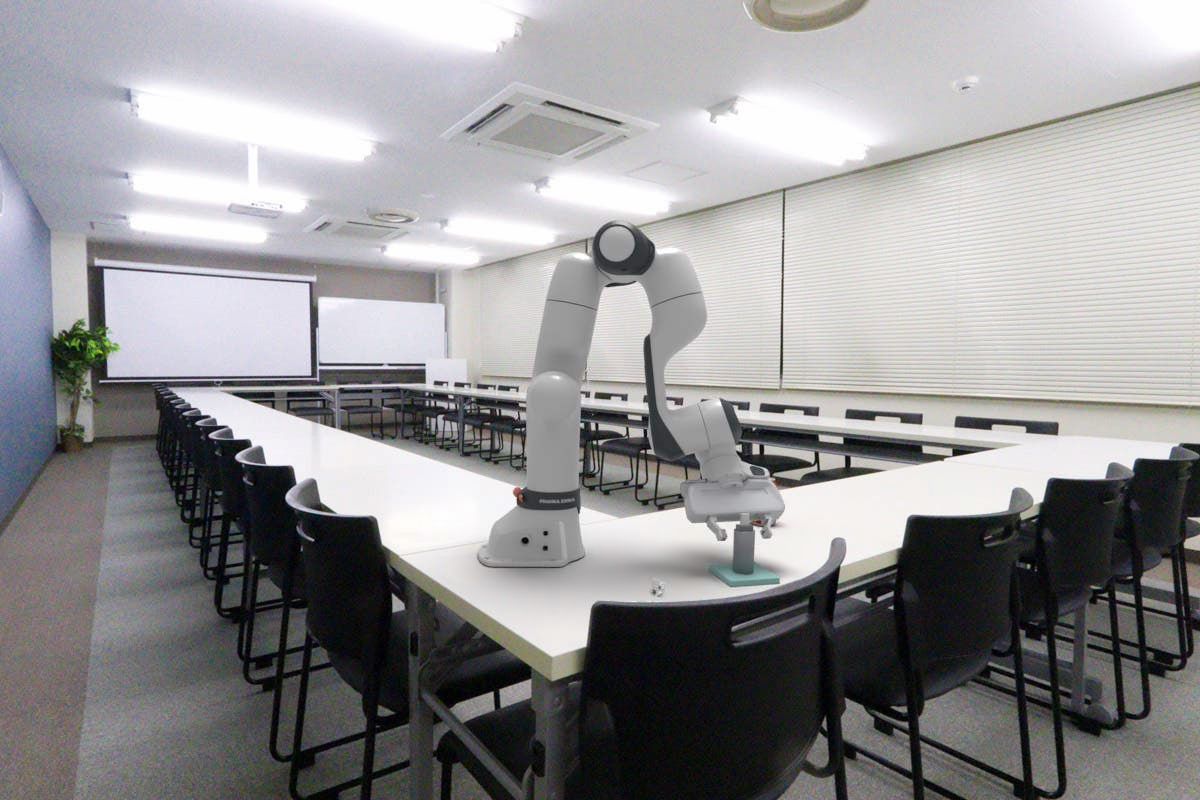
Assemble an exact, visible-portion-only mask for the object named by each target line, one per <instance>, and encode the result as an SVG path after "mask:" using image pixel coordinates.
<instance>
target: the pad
mask: <svg viewBox="0 0 1200 800" xmlns="http://www.w3.org/2000/svg"><path fill="white" fill-rule="evenodd" d="M708 571H709V572H711V573H712V574H714V575H715V576H716V577H717V578H719V579H720V580H721V581H723V582H724V583H725V584H726V585H727V586H729V587H731V588H732V587H744V586H746V587H747V586H759V585H771V584H773V585H775V584H780V582H781V581H780V577H779V576H777V574H774V573H773V572H771V571H769V569H767V568H765V567H763V566H761V565H760V564H759V563H757V562H755V561H754V573H753V574H747V575H745V574H738V573H735V572H733V562H731V563H727V562H726V563H714V564H712V563H711V564H708Z"/></svg>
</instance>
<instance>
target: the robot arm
mask: <svg viewBox="0 0 1200 800" xmlns="http://www.w3.org/2000/svg"><path fill="white" fill-rule="evenodd" d="M636 283H638V284H640V285H641V286H642V288H643V289H644V291H645V294H646V298H647V301H648V304H649V309H650V311H651V322H652V323H651V328H650V331H649V333H648V334H647V335H646V336H645V337H644V339H643V346H642V348H643V351H642V352H643V360H644V361H643V362H644V367H643V368H644V377H645V389H646V398H647V401H646V402H647V408H648V425H647V426H648V427H647V430H648V431H647V432H648V435H647V436H648V441H649V446H650V448H651V450H652V451H653V453H654V455H655V456H657V457H659V458H661V460H662V459H663V460H664V461H668V462H674V461H677V460H678V459H682V458H685V457H686V456H689V455H693V454H694V456H695V459H696V460H697V461H698V462H699V468H700V469H699V471H700V474H701V478H697V479H685V480H684V481H682V482H681V483H680V485H679V490H680V491H679V492H680V495H681V496H682V498H684V499H683V501H684V513H685V516H686V519H687V520H688V521H689V522H690V523H691V524H706V527H707V528H708V529H709V530H710V531H711V532H712V533H713V534H714V535H715V538H716V541H717V542H724V541H727V539H728V534H727V531H726V528H721V527H720V525H718V523H728V522H730V523H731V522H732V523H733V522H740V514H743V513H748V514H750V518H749V522H751V521H756V520H761V523H762V524H765V526H762V529H761V530H760V532H759V533H760V535H761V539H762V540H764V539H765V540H768V539H771V538H772V537H773V531H772V529H771V527H772V526H771V522H772V520H776V521H777V520H779V519H780V518H781V517H782V515H783V514H784V512H785V509H786V504H785V502H784V499H783V497H782V495H781V492H780V490H779V488H777V487H776V485H775V484H774V483H773V482H772V481H771V480H769V479H768V478H769V477H771V476H770V471H769V470H768V469H767V468H766V467H762V466H757V465H754V464H750V463H748V462H745V461H743V460H742V458H741V457H740V455H738V454H737V449H736V447H737V445H738V444H739V442H740V439H741V437H742V435H743V434H742V433H743V429H742V426H741V423H740V420H739V418H738V416H737V414H736V412H735V408H734V407H735V406H734V405H733V404H732V403H731V402H729V401H728V400H725V399H723V398H722V397H717V398H716V397H715V398H712V399H708V400H704V401H700V402H697V403H694V404H691V405H688V406H687V405H686V406H683V407H680V408H677V409H670V408H668V403H667V402H668V401H667V393H666V381H665V369H666V365H668V362H669V361H670V360H671V359H672V358H673V357H674V356H675V355H676V354H677V353H679V352H681V351H682V350H683V349H684V348H686V347H688V345H689V344H691V343H692V342H694V341H695V340H697V338H698V337H699V336H700V335H701V334H702V332H703V331H704V329H705V327H706V324H707V321H708V312H707V306H706V301H705V297H704V294H703V290H702V286H701V284H700V281H699V278H698V275H697V273H696V271H695V268H694V266H693V264H692V262H691V260H690V258H689V256H688V254H687V253H686V252H685V251H684V250H683V249H681V248H679V247H675V246H673V247H672V246H668V247H663V248H659V249H657V248H656V245H655V243H654V241H652V240H651V239H650V238H649V237H648V236H647V235H646V234H645V233H644V232H643V231H642V230H641V229H640V228H639V227H637V226H636V225H634V224H633V223H631V222H629V221H627V220H622V219H621V220H620V219H618V220H611V221H609V222H607V223H605V224H603V225H602V226H601V227H600V228H598V229H597V231H596V232H595V235H594V237H593V240H592V244H591V251H590V252H585V253H584V252H579V251H577V252H575V251H574V252H569V253H566V254H563V256H561V257H560V258H559V259H558V261H557V263H556V265H555V267H554V270H553V274H552V277H551V280H550V282H549V286H548V290H547V294H546V299H545V302H544V303H545V304H544V308H543V314H542V318H541V323H540V329H539V334H538V339H537V346H536V349H535V350H536V352H535V356H534V362H533V368H532V373H531V379H530V384H529V385H528V387H527V390H526V395H525V396H526V397H525V398H526V399H525V402H526V405H525V407H526V410H525V411H526V412H525V413H526V414H525V416H526V417H525V421H526V422H525V423H526V427H525V428H526V430H525V431H526V434H525V435H526V483H525V485H526V486H525V487H524V488H521V487H520V486H515V487H514V488H513V489H512V495H513V496H514V497H515V498H516V505H515V506H514V507H513V508H512V509H510V510H509V511H508V512H506V513H505V514H504V515H503V516H501V517H500V518H499V519H497V520H496V521H495V522H494V523H493V525H492V527H491V530H490V532H489V538H488V542H487V543H484V544H482V545H480V547H479V548H478V550H477V551H478V552H477V558H478V560H479V562H480V563H481V564H482V565H484V566H487V567H491V568H492V567H493V568H494V567H495V568H496V567H498V568H499V567H505V568H506V567H507V568H508V567H515V568H517V567H518V568H519V567H520V568H521V567H522V568H525V567H529V568H534V567H540V568H542V567H543V568H544V567H545V568H547V567H548V568H551V567H552V568H554V567H555V568H556V567H557V568H559V567H564V566H566V565H567V564H569V563H571V562H574V561H576V560H579V559H580V558H582V557H584V556H585V554H586V551H585V548H584V544H583V543H584V542H583V539H582V532H581V525H580V523H581V522H580V514H581V509H582V508H581V507H582V493H581V488H580V487H579V483H580V481H579V478H580V477H579V475H580V474H579V473H580V471H579V469H580V468H579V467H580V442H581V441H580V440H581V439H580V438H581V437H580V436H581V413H582V411H581V410H582V393H581V391H582V384H583V380H584V377H585V371H586V367H587V362H588V359H589V353H590V350H591V347H592V340H593V336H594V331H595V326H596V321H597V316H598V310H599V304H600V300H601V296H602V293H603V290H604V289H605V288H612V287H613V288H615V287H625V286H628V285H633V284H636Z"/></svg>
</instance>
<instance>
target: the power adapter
mask: <svg viewBox="0 0 1200 800" xmlns="http://www.w3.org/2000/svg"><path fill="white" fill-rule="evenodd" d="M665 585H666V582H663V581H661V580H660V579H658V578H655V577H653V581H652V582H651V586H650V588H649V589H650V593H652V594H654V593H655V594H654V596H655V595H656V596H655V597H660V596H661V595H662V593H663V594H665V587H664V586H665Z"/></svg>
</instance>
